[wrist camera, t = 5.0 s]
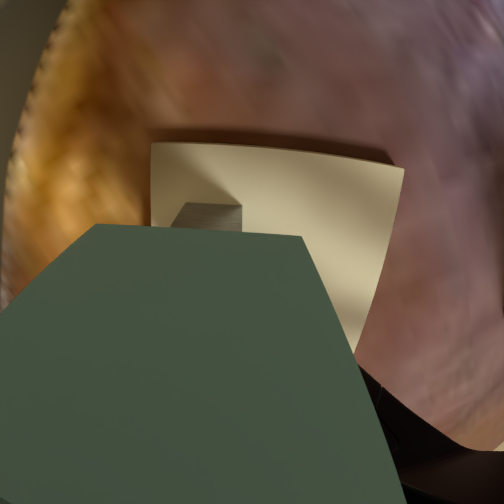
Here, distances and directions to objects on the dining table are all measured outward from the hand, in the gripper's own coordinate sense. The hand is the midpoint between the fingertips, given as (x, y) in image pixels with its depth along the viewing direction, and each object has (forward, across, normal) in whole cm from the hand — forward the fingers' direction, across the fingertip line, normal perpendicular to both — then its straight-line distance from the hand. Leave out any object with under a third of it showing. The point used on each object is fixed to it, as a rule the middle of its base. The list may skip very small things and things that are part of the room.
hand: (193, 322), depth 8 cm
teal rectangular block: (0, 0, 0) cm, 0 cm away
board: (+8, -3, +4) cm, 9 cm away
